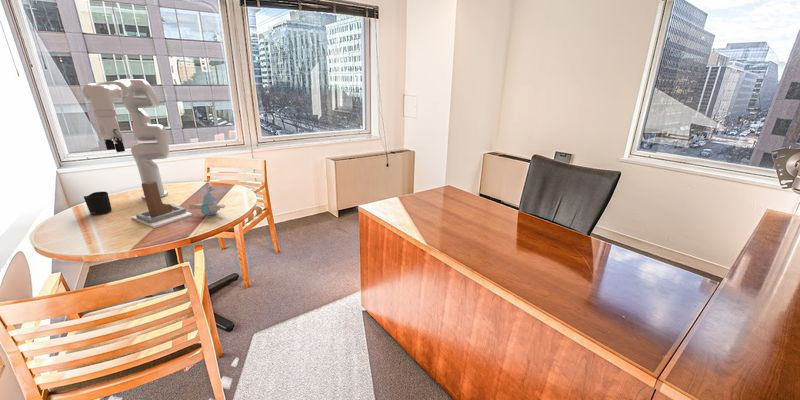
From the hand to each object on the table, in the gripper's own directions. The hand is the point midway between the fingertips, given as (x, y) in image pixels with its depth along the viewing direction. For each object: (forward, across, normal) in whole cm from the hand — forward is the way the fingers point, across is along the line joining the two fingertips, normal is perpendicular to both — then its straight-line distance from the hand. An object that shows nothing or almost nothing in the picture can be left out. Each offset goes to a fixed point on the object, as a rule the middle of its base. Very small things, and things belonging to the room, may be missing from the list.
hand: (116, 150), depth 158 cm
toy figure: (+34, +30, +22) cm, 51 cm away
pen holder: (+34, -22, -6) cm, 41 cm away
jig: (+34, +12, +7) cm, 37 cm away
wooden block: (+34, +11, +7) cm, 36 cm away
